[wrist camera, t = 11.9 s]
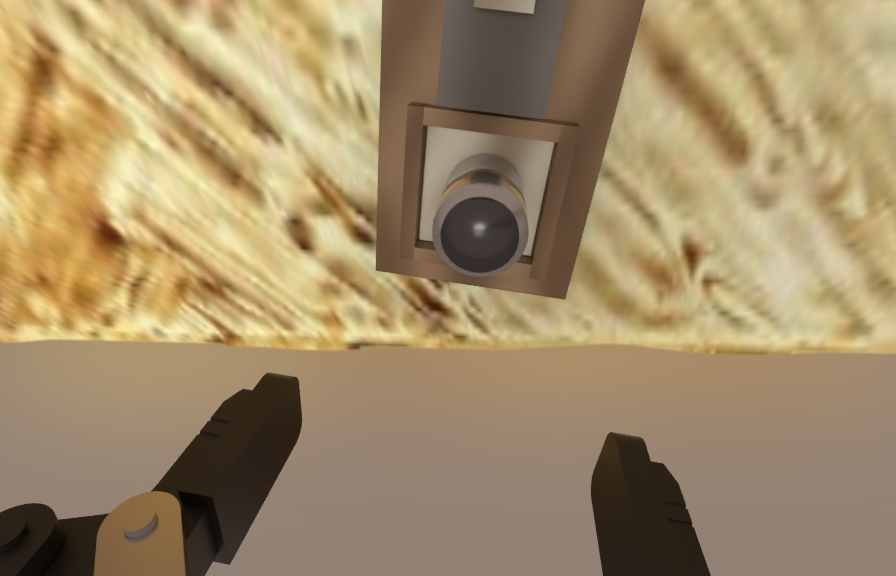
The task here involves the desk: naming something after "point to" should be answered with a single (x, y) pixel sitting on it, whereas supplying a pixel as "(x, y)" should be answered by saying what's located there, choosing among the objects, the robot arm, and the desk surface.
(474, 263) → the lens
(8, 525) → the robot arm
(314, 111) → the desk surface
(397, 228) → the dock
